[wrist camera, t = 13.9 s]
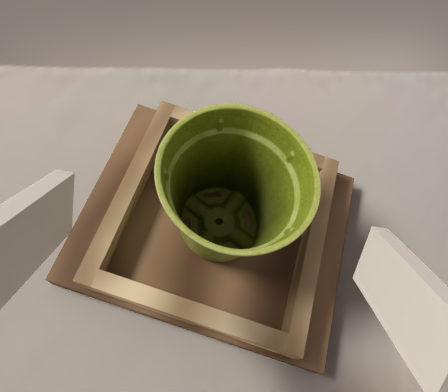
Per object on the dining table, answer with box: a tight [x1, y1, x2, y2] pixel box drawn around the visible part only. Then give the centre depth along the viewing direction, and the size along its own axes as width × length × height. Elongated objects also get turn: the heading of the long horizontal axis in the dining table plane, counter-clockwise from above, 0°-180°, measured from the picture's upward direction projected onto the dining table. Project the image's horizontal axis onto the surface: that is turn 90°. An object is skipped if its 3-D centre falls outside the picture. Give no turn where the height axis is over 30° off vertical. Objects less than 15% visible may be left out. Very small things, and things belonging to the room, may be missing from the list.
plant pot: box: [154, 103, 321, 262], centre depth 23 cm, size 9×9×9 cm
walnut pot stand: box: [45, 101, 354, 374], centre depth 27 cm, size 20×16×4 cm
